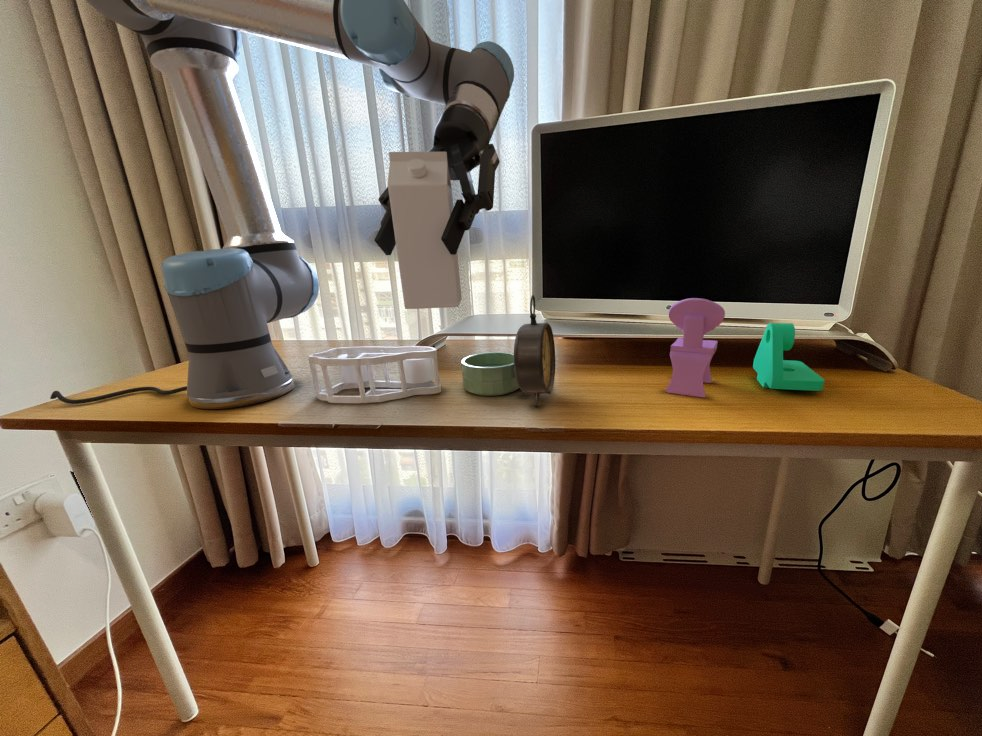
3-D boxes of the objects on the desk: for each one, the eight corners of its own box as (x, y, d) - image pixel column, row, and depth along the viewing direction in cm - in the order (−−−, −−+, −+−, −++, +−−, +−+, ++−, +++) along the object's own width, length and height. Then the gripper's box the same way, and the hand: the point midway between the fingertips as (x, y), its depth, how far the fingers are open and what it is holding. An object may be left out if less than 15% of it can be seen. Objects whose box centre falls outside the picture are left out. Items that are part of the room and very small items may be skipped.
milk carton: (413, 303, 64) (394, 157, 57) (461, 301, 64) (448, 156, 57) (404, 310, 57) (382, 146, 50) (458, 308, 58) (443, 146, 51)
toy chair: (718, 382, 74) (730, 293, 69) (712, 398, 67) (725, 300, 61) (670, 376, 78) (677, 292, 72) (658, 391, 71) (666, 298, 65)
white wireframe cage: (449, 382, 78) (445, 342, 75) (429, 404, 67) (424, 359, 65) (344, 381, 79) (336, 342, 77) (309, 403, 69) (299, 359, 66)
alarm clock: (545, 411, 64) (543, 300, 58) (510, 409, 65) (504, 299, 59) (557, 387, 74) (556, 290, 68) (526, 386, 75) (523, 290, 69)
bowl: (452, 393, 72) (449, 365, 70) (481, 376, 81) (479, 350, 79) (507, 400, 68) (506, 370, 67) (531, 381, 77) (530, 354, 75)
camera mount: (823, 397, 66) (838, 331, 62) (769, 395, 68) (781, 330, 64) (797, 374, 77) (809, 317, 73) (751, 373, 79) (760, 316, 75)
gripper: (542, 146, 63) (502, 267, 55) (416, 159, 70) (364, 267, 62) (528, 92, 56) (479, 221, 48) (390, 113, 63) (328, 227, 55)
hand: (414, 247), depth 55 cm, fingers closed on milk carton, 9 cm apart
